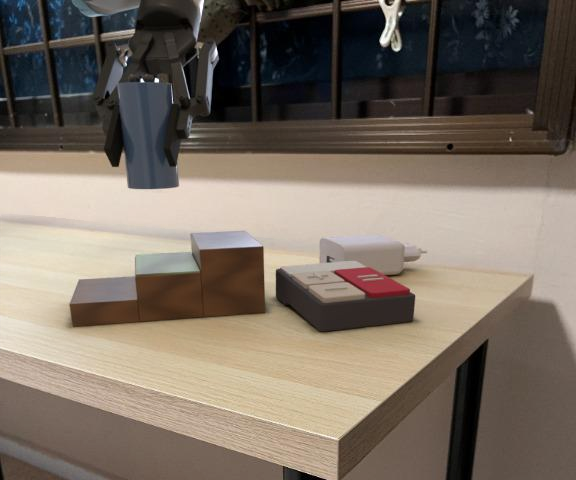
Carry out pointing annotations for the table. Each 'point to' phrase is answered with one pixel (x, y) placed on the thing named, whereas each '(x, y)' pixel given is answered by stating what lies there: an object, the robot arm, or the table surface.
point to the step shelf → (179, 284)
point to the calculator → (344, 295)
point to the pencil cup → (146, 132)
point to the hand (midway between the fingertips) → (140, 157)
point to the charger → (369, 252)
